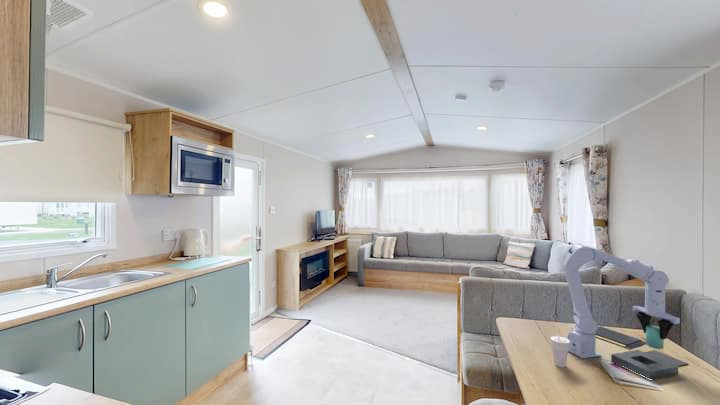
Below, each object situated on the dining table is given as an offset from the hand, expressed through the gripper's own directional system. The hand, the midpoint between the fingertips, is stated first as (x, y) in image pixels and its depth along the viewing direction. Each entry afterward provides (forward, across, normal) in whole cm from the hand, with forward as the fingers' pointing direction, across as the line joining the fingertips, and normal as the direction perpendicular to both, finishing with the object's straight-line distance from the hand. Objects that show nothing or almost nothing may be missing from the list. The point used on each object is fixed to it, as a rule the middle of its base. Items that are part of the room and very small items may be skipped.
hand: (654, 335), depth 122 cm
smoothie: (+11, +8, +37) cm, 39 cm away
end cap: (+4, 0, 0) cm, 4 cm away
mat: (+10, +1, -6) cm, 12 cm away
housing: (+10, -2, +8) cm, 14 cm away
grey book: (+11, +22, -8) cm, 25 cm away
